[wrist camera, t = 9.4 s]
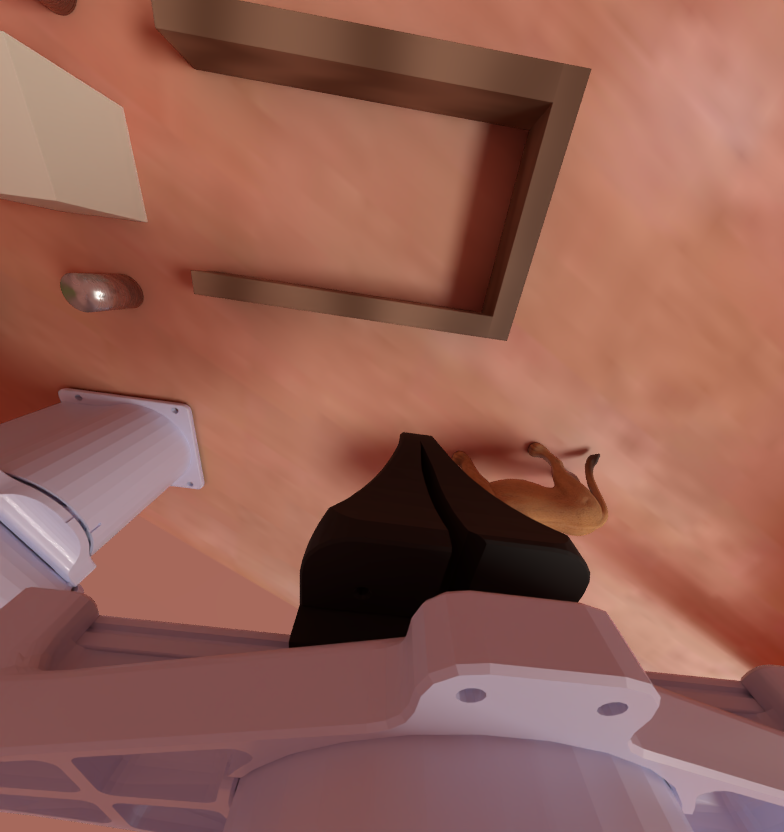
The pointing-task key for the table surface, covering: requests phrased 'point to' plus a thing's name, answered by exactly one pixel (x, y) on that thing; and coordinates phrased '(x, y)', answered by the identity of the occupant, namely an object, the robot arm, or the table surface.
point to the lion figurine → (549, 494)
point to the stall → (400, 86)
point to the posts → (86, 287)
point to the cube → (62, 140)
